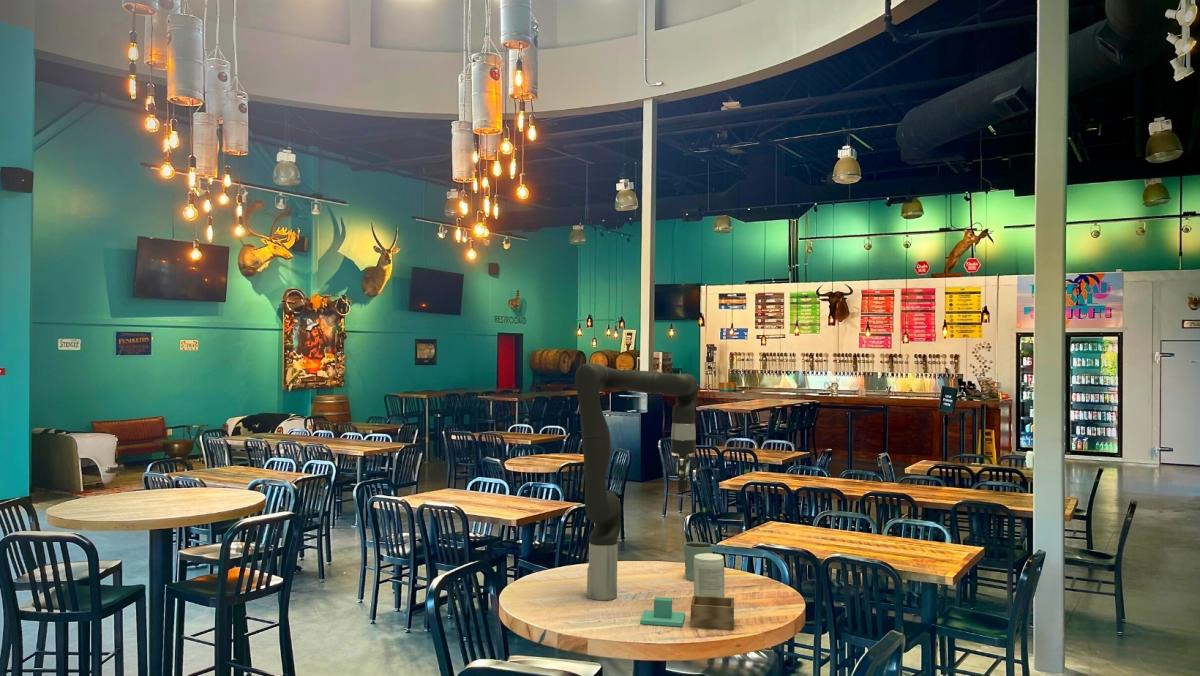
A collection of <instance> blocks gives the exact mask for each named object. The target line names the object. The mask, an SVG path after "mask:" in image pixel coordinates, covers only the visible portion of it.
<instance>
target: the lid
mask: <svg viewBox="0 0 1200 676" xmlns="http://www.w3.org/2000/svg"><path fill="white" fill-rule="evenodd" d="M685 617H686V612H685V611H684V612H681V611H673V598H672V597H663V596H662V597H660V596H655V597H654V599H653V610H650V609H644V611H643V613H642V615H641V617H640V620H639V624H640V625H650V626H651V625H654V626H664V627H665V626H668V627H681V628H682V627H683V624H684V621H685Z"/></svg>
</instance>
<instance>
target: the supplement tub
mask: <svg viewBox="0 0 1200 676" xmlns="http://www.w3.org/2000/svg"><path fill="white" fill-rule="evenodd" d="M693 595H695V596H711V597H726V596H725V558H724V556H723V555H722V554H717V553H712V554H711V553H704V554H697V555H695V556H694V582H693Z"/></svg>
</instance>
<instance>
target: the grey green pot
mask: <svg viewBox="0 0 1200 676" xmlns="http://www.w3.org/2000/svg"><path fill="white" fill-rule="evenodd" d="M713 549H714V545H713V544H712V543H710V542H703V541H688V542H684V543H683V556H684V567H685V569H684V576H685V580H686V579H687V581H688V580H689V582H692V581H694V556H695V555H697V554H704V553H711V554H713Z"/></svg>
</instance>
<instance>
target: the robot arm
mask: <svg viewBox="0 0 1200 676" xmlns="http://www.w3.org/2000/svg"><path fill="white" fill-rule="evenodd" d="M574 384H575V390H576V394H577V399H578V404H579V405H578V406H579V415H580V417H579V418H580V429H581V444H582V445H581V446H582V454H583V467H584V483H585V485H584V488H585V489H584V491H585V492H584V510H585V514H586V516H587V518H588V519H589V520H590V522H591V523H593V524H594V527H593V528H592V530H591V531H590V533H589V536H588V567H587V572H586V573H587V576H586V577H587V578H586V581H587V582H586V585H587V586H586V598H587V599H591V600H597V601H611V600H614V599H616V598H617V597H618V543H619V542H618V540H619V537H620V536H619V535H620V532H621V519H622V506H621V502H620V499H619V497H618V496H617V495H616V494H615V493H613V492H611V491H607V485H606V483H607V482H606V479H607V471H608V468H609V464H610V460H611V455H612V443H611V442H612V441H611V433H610V432H611V431H610V429H609V428H610V427H609V426H608V425H609V424H608V423H607V419H606V418H605V415H604V412H603V410H602V405H601V396H600V394H601V393H600V392H601V391H604V390H605V391H606V390H626V391H630V392H636V393H641V394H642V393H645V394H652V395H654V394H655V395H666V396H673V397H676V399H675V404H674V405H673V406H672V424H671V430H670V431H671V436H670V437H671V440H670V441H671V445H670V447H671V448H670V449H671V451H670V452H671V453H673V454H677V455H678V458H677V459H676V461H675V462H676V474H677V475H676V478H677V480H678V483H677V484H678V485H677V486H678V490H677V491H678V492H679V493H686V490H687V488H688V487H689V486H688V484H689V483H688V481H689V480H688V479H689V478H688V476H689V474H690V473H689V472H690V468H691V467H690V465H691V458H690V455H693V454H695V453H696V445H697V444H696V442H697V441H696V439H697V438H696V433H697V432H696V410H695V409H696V404H697V398H698V393H699V392H698V390H699V388H698V387H699V385H698V384H699V383H698V381H697V379H696V377H695V376H694V375H692V374H690V373H667V372H665V373H664V372H660V371H651V370H649V371H648V370H623V369H617V368H616V369H615V368H611V367H607V366H605V365H601V364H599V363H589V362H588V363H583V364H581V365H579V366H578V368H577V369H576V371H575V374H574Z"/></svg>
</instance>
